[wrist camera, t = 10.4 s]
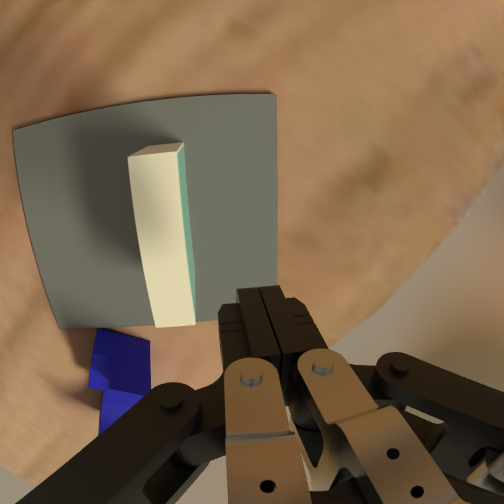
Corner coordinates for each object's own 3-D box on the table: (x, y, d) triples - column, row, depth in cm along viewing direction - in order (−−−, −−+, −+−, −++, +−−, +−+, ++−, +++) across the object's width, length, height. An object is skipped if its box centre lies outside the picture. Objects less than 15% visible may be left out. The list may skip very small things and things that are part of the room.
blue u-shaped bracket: (97, 327, 23) (87, 383, 17) (149, 340, 24) (151, 397, 19) (86, 410, 26) (82, 457, 21) (126, 418, 28) (127, 466, 23)
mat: (15, 130, 16) (12, 130, 16) (274, 94, 18) (276, 94, 18) (61, 325, 22) (59, 328, 22) (275, 310, 25) (276, 313, 24)
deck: (148, 145, 18) (127, 156, 13) (183, 142, 18) (177, 151, 13) (164, 276, 22) (155, 327, 16) (195, 273, 22) (196, 324, 17)
